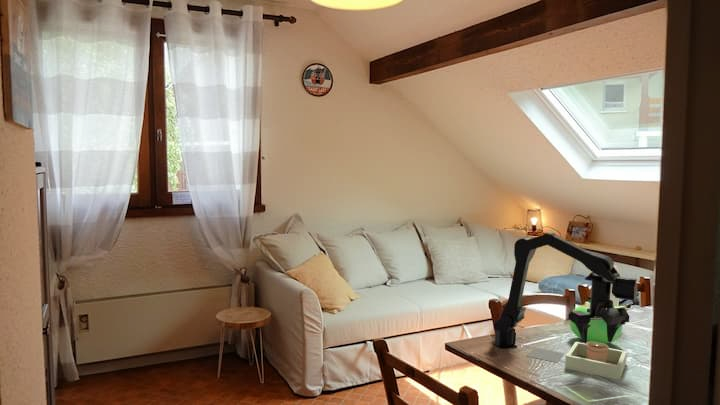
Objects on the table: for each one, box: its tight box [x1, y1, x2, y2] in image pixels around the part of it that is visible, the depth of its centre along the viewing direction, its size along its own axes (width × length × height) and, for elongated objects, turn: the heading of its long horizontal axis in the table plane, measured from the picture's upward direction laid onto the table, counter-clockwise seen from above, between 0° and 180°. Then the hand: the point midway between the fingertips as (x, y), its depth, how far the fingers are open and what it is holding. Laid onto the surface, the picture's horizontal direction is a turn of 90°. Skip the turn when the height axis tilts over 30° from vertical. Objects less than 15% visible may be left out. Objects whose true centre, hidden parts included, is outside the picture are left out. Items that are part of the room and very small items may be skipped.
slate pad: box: [526, 347, 565, 364], centre depth 187 cm, size 10×10×1 cm
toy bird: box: [568, 301, 628, 345], centre depth 202 cm, size 18×17×15 cm
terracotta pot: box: [586, 342, 610, 363], centre depth 178 cm, size 7×7×7 cm
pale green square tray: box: [564, 341, 628, 381], centre depth 179 cm, size 16×16×4 cm
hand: (597, 342), depth 178 cm, fingers open, 9 cm apart
